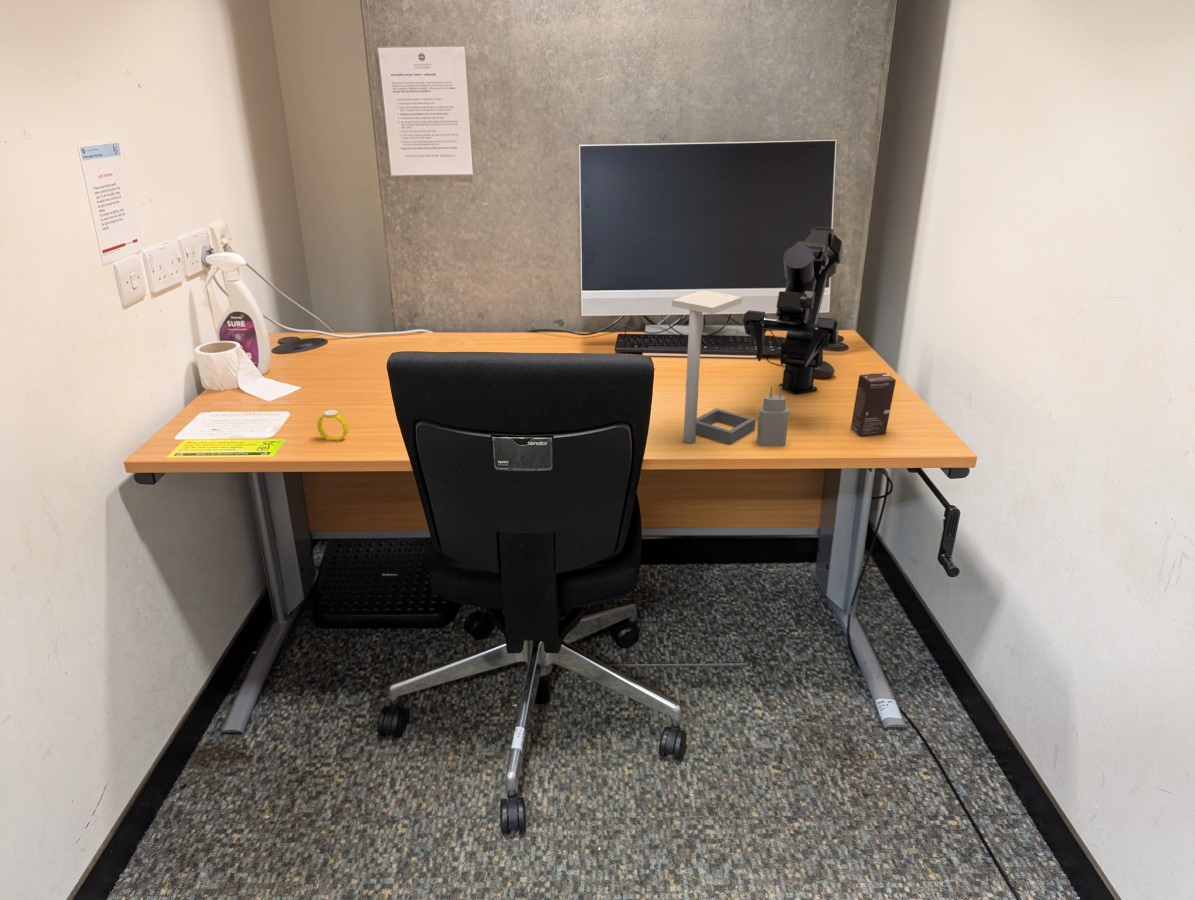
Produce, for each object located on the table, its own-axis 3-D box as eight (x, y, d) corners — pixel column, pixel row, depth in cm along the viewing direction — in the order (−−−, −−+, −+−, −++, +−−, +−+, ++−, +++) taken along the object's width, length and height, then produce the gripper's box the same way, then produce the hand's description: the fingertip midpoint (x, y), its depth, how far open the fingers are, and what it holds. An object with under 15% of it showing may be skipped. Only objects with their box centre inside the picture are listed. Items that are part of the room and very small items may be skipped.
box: (861, 437, 163) (869, 381, 158) (849, 429, 167) (857, 374, 162) (888, 434, 164) (897, 379, 159) (876, 426, 168) (884, 371, 163)
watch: (350, 439, 163) (349, 411, 161) (344, 444, 161) (342, 417, 158) (323, 434, 164) (321, 407, 162) (316, 440, 162) (314, 412, 159)
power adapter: (786, 446, 159) (792, 388, 154) (758, 446, 159) (764, 388, 154) (782, 439, 162) (788, 383, 157) (755, 439, 162) (760, 383, 157)
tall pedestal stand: (706, 416, 173) (714, 286, 162) (754, 430, 167) (766, 295, 155) (666, 437, 163) (671, 300, 151) (716, 453, 156) (725, 310, 145)
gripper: (749, 270, 163) (731, 336, 158) (843, 278, 157) (828, 347, 152) (754, 301, 173) (737, 364, 168) (844, 310, 166) (829, 376, 161)
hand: (781, 363), depth 162 cm, fingers open, 9 cm apart
